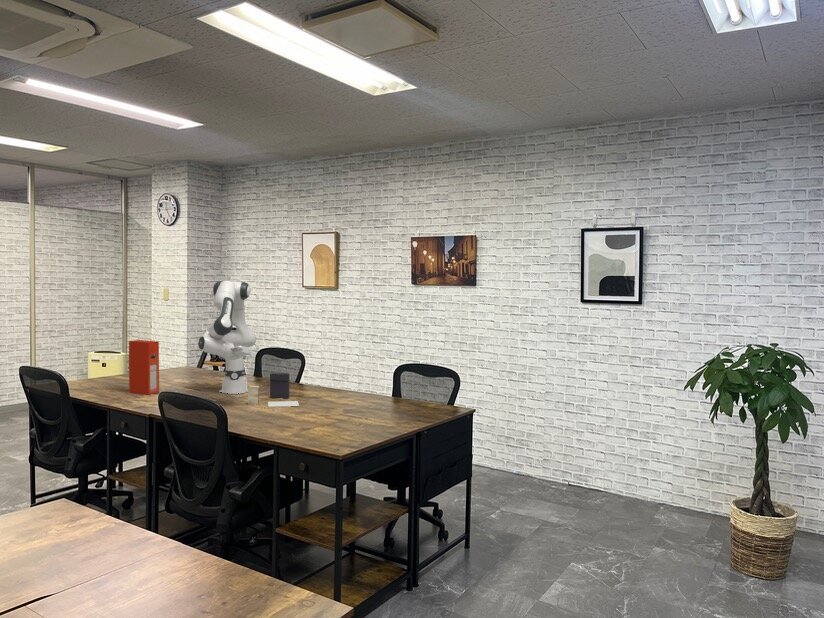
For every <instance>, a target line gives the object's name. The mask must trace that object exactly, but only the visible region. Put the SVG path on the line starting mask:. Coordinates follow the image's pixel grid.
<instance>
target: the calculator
mask: <svg viewBox="0 0 824 618" xmlns="http://www.w3.org/2000/svg"><path fill="white" fill-rule="evenodd" d="M269 384H270V385H269V387H270V388H269V399H275V398H283V399H282V400H288V399H290V372H289V373H288V372H287V373H286V372H281V373H280V372H271V373H270V374H269Z"/></svg>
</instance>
